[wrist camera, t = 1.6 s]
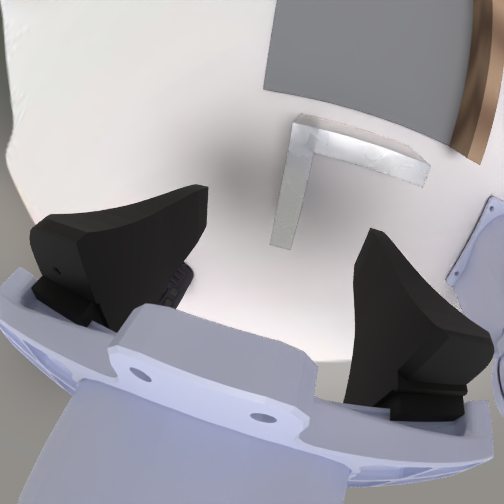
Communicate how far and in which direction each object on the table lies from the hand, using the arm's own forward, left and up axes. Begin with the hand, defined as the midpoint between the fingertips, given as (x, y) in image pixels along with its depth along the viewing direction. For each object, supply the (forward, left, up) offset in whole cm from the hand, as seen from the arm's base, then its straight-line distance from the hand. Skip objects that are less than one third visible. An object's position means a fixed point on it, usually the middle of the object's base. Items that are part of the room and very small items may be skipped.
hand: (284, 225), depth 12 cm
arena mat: (+14, -4, -9) cm, 17 cm away
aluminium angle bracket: (0, -3, -9) cm, 10 cm away
